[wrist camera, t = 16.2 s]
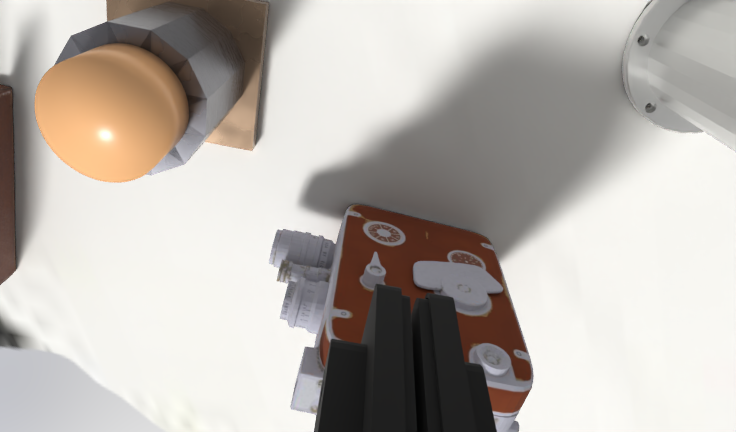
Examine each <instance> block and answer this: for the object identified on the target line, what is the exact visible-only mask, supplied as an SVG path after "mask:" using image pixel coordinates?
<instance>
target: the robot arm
mask: <svg viewBox="0 0 736 432" xmlns="http://www.w3.org/2000/svg"><path fill="white" fill-rule="evenodd" d="M640 36H642V39H641V40H640V41H639V42H638V38H639V37H640ZM622 75H623V83H624V87H625V90H626V93H627V96H628V98H629V100H630V101H631V103H632V104H633V106H634V107H635V109H636V110H637V111H638V112H639V113H640V114H641V115H642V116H643V117H645V118H646V119H647V120H649V121H650V122H652V123H653V124H654V125H656V126H659V127H661V128H663V129H666V130H669V131H674V132H679V133H700V132H706V133H707V134H709V135H710V136H712V137H713V138H715V139H716V140H718V141H719V142H721V143H722V144H724V145H726V146H727V147H729V148H730V149H732V150H733V151H735V152H736V0H653V1H652V2H651V3H650V4H649V5H648V6H647V7H646V8H645V9H644V11H643V12H642V14H641V15H640V17H639V18H638V20H637V21H636V23H635V24H634V27H633V29H632V31H631V33H630V35H629V38H628V40H627V43H626V47H625V51H624V55H623V64H622ZM648 103H649V105H648V106H647V107H646V105H647V104H648ZM314 432H497V430H496V425H495V420H494V415H493V411H492V406H491V401H490V396H489V391H488V387H487V382H486V377H485V373H484V370H483V367H482V366H481V365H480V364H475V363H469V362H465V361H464V355H463V349H462V343H461V337H460V331H459V326H458V320H457V314H456V308H455V302H454V298H453V297H449V296H444V295H438V294H432V293H427V294H426V296H425V299H422V298H416V300H415V303H414V306H413V310H412V313H411V302H410V296H405V295H402V289H401V288H399V287H394V286H388V285H383V284H377V283H376V285H375V288H374V292H373V296H372V300H371V304H370V308H369V312H368V316H367V320H366V325H365V329H364V333H363V337H362V341H361V344H360V343H354V342H348V341H343V340H337V339H331V340H330V345H329V349H328V354H327V359H326V364H325V369H324V374H323V380H322V385H321V391H320V397H319V403H318V409H317V416H316V422H315V429H314Z"/></svg>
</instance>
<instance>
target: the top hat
mask: <svg viewBox="0 0 736 432" xmlns="http://www.w3.org/2000/svg"><path fill="white" fill-rule="evenodd" d="M106 1H107V22H105V23H102V24H100V25H97V26H95V27H92V28H90V29H87V30H85V31H82V32H80V33H77V34H75V35H72V36H71V37H70V38H69V40H68V42H67V44H66V45H65V47H64V49H63V51H62V53H61V54H60V56H59V58H58V60H57V61H56V63H55V65H56V64H58V63H60V62H62V61H64V60H67V59H69V58H71V57H74V56H76V55H79V54H81V53H84V52H86V51H89V50H91V49H94V48H96V47H99V46H102V45H105V44H111V43H124V44H131V45H134V46H138V47H140V48H143V49H145V50H147V51H149V52H151V53H153V54H154V55H156V56H157V57H159V58H160V59H161V60H162V61H164V62H165V63H166V64H167V65H168V66H169V67H170V68H171V69H172V70H173V72H174V73H175V74H176V76H177V77H178V79H179V80H180V82H181V84H182V86H183V88H184V91H185V93H186V96H187V100H188V106H189V119H188V125H187V128H186V131H185V133H184V135H183V137H182V138H181V140H180V141H179V142H178V143H177V145H176V146H175V147H174V148H173V149H172V150H171V151H170V152H169V153H168V154H167V155H166V156H165V157H164V158H163V159H162V160H161V161H160V162H159V163H158V164H157V165H156V166H155V167H154V168H153V169H152V170H150V171H149V172H148V173H147V175H153V174H156V173H159V172H162V171H165V170H169V169H172V168H175V167H178V166H181V165H184V164H185V163H186V162H187V161H188V160H189V159H190V158H191V156H192V155H193V154H194V153H195V152H196V151H197V150H198V148H199V147H200V146H201V145H202V144H203V143H204V142H208V143H214V144H219V145H224V146H229V147H234V148H240V149H245V150H250V151H252V150H253V149H254V147H255V144H256V134H257V123H258V113H259V103H260V93H261V82H262V72H263V62H264V51H265V41H266V31H267V20H268V10H269V2H264V1H259V0H106ZM55 65H54V66H55Z"/></svg>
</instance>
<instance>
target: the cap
mask: <svg viewBox="0 0 736 432" xmlns="http://www.w3.org/2000/svg"><path fill="white" fill-rule="evenodd" d="M35 115H36V120H37V123H38V126H39V129H40V131H41V133H42V135H43V137H44V139H45V141H46V142H47V144H48V145H49V146H50V148H51V149H52V150H53V152H54V153H55V154H56V155H57V156H58V157H59V158H60V159H61V160H62V161H63V162H65V163H66V164H67V165H68V166H70V167H71V168H73V169H74V170H76V171H78V172H79V173H81V174H83V175H85V176H88V177H90V178H93V179H96V180H100V181H105V182H127V181H131V180H135V179H137V178H140V177H142V176H143V175H145V174H147V173H148V172H149V171H150V170H152V169H153V168H154V167H155V166H156V165H157V164H158V163H159V162H160V161H161V160H162V159H163V158H164V157H165V156H166V155H167V154H168V153H169V152H170V151H171V150H172V149H173V148H174V147H175V146H176V145H177V143H178V142H179V141H180V140H181V138H182V137H183V135H184V133H185V131H186V128H187V125H188V119H189V106H188V100H187V96H186V93H185V91H184V88H183V86H182V84H181V82H180V80H179V79H178V77H177V76H176V74H175V73H174V72H173V70H172V69H171V68H170V67H169V66H168V65H167V64H166V63H165V62H164V61H162V60H161V59H160V58H159V57H157V56H156V55H154V54H153V53H151V52H149V51H147V50H145V49H143V48H140V47H138V46H134V45H131V44H124V43H111V44H105V45H102V46H99V47H96V48H94V49H91V50H89V51H86V52H84V53H81V54H79V55H76V56H74V57H71V58H69V59H67V60H64V61H62V62H60V63H58V64H56V65H55V66H53V67H52V68H50V69H49V70H48V71H47V72H46V73H45V75H44V76H43V77H42V79H41V80H40V83H39V85H38V87H37V90H36V94H35Z"/></svg>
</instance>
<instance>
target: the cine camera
mask: <svg viewBox="0 0 736 432" xmlns="http://www.w3.org/2000/svg"><path fill="white" fill-rule="evenodd" d="M269 264H273V265H274V267H279V272H278V277H277V281H279V280H280V282H285V283H288V282H289V283H288V287H287V291H286V294H285V298H284V302H283V306H282V311H281V315H280V319H284V320H287V321H288V325H289V327H292V328H294V326H296V327H301V328H305V329H306V330H307V331H308V332H310V333H314V334H317V336H316V341H315V346H314V348H311V347H305V349H304V353H303V357H302V361H301V364H300V368H299V372H298V376H297V379H296V383H295V388H294V393H293V398H292V403H291V409H293V410H297V411H302V412H307V413H312V414H315V415H316V416H317V409H318V403H319V397H320V391H321V385H322V380H323V374H324V369H325V364H326V359H327V354H328V349H329V345H330V340H331V339H337V340H343V341H348V342H354V343H360V344H361V341H362V337H363V333H364V329H365V325H366V320H367V316H368V312H369V308H370V304H371V300H372V296H373V292H374V288H375V285H376V283H377V284H383V285H388V286H394V287H399V288H401V289H402V295H405V296H410V302H411V313H412V310H413V306H414V303H415V300H416V298H422V299H425V296H426V294H427V293H432V294H438V295H444V296H449V297H453V298H454V302H455V308H456V314H457V320H458V326H459V331H460V337H461V343H462V349H463V355H464V361H465V362H469V363H475V364H480V365H481V366H482V367H483V370H484V373H485V377H486V382H487V387H488V391H489V396H490V401H491V406H492V411H493V415H494V420H495V425H496V430H497V432H519V424H518V422H517V421H514V420H515V418H516V416H517V414H518V413H519V410H520V408H521V407H522V405H523V403H524V401H525V399H526V397H527V396H528V394H529V392H530V390H531V388H532V383H533V368H532V364H531V360H530V356H529V353H528V350H527V347H526V343H525V340H524V337H523V334H522V331H521V328H520V325H519V322H518V319H517V316H516V312H515V309H514V306H513V303H512V300H511V297H510V294H509V291H508V288H507V284H506V281H505V278H504V275H503V272H502V269H501V266H500V263H499V260H498V257H497V255H496V252H495V250H494V248H493V246H492V244H491V243H490V241H489V240H488V239H487V238H486V237H484V236H482V235H480V234H477V233H474V232H471V231H467V230H463V229H459V228H455V227H451V226H447V225H443V224H439V223H435V222H431V221H427V220H423V219H419V218H415V217H411V216H407V215H403V214H399V213H395V212H391V211H387V210H382V209H378V208H374V207H370V206H366V205H359V204H355V205H351V206H350V207H349V208H348V209H347V210H346V212H345V215H344V218H343V221H342V224H341V228H340V231H339V235H338V238H337V242H336V244H334V243H333V242H332V241H331V240H327V239H324V237H323V236H320V235H319V237H318V236H314V235H311V233H308V232H306V233H303V232H299V231H290V230H286V229H283V230H277V233H276V236H275V239H274V242H273V246H272V250H271V255H270V260H269Z"/></svg>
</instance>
